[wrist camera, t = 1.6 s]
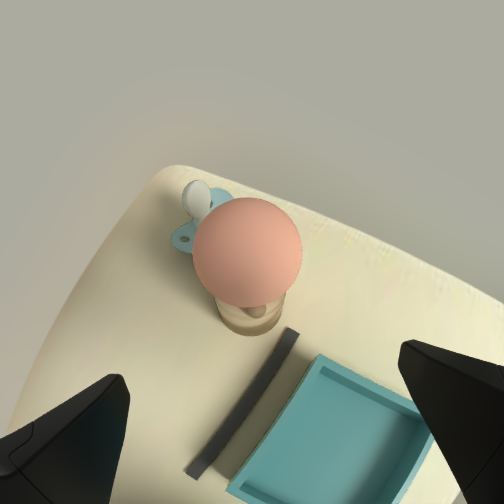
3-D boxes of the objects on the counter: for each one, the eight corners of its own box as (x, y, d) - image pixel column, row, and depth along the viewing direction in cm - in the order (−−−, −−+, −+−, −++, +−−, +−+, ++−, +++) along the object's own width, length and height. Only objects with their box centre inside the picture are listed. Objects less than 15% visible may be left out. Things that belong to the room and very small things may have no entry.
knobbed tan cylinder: (260, 348, 21) (261, 325, 16) (207, 314, 23) (192, 282, 18) (293, 297, 23) (303, 260, 18) (242, 268, 25) (237, 226, 20)
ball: (263, 340, 16) (266, 303, 11) (183, 289, 18) (156, 235, 13) (311, 264, 19) (330, 204, 14) (236, 224, 21) (230, 160, 16)
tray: (354, 533, 12) (366, 546, 10) (229, 480, 16) (225, 490, 13) (424, 417, 17) (444, 416, 15) (311, 361, 20) (319, 353, 18)
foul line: (197, 479, 16) (196, 480, 15) (185, 472, 16) (185, 472, 16) (299, 334, 22) (299, 333, 21) (288, 328, 22) (288, 327, 22)
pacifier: (260, 218, 28) (206, 198, 29) (263, 171, 23) (199, 152, 24) (226, 280, 25) (167, 255, 26) (220, 240, 19) (149, 212, 20)
